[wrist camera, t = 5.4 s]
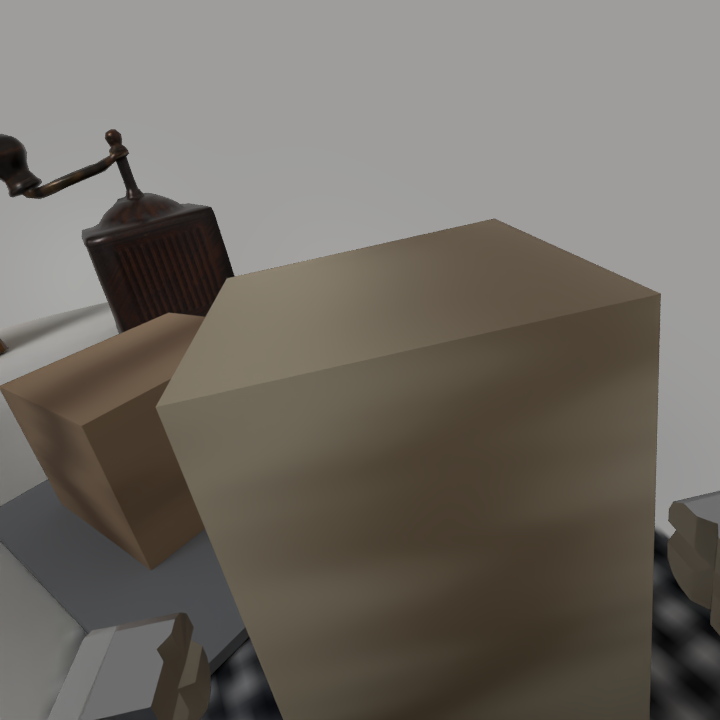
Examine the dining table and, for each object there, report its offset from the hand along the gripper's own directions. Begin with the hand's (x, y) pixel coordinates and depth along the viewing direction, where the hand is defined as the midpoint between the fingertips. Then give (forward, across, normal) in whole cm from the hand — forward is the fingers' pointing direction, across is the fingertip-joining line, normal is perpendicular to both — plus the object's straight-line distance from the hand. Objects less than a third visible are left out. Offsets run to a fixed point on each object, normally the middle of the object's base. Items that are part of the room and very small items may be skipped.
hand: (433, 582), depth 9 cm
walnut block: (+14, +9, +6) cm, 18 cm away
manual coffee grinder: (+42, +18, +6) cm, 46 cm away
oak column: (+1, 0, +6) cm, 6 cm away
